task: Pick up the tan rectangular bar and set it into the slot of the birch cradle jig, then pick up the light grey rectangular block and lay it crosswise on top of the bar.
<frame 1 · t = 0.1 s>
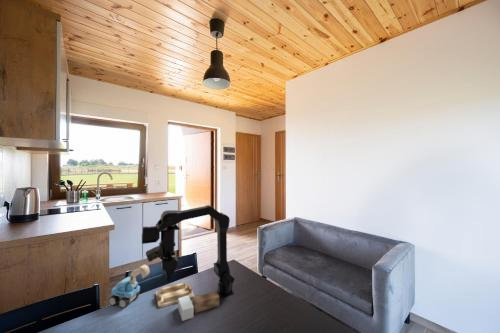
hand: (166, 275, 94), 15 cm above the table, fingers open, 9 cm apart
light grey rectangular block: (185, 312, 92), on the table
toy excavator: (129, 302, 98), on the table
tan rectangular bar: (205, 306, 96), on the table
jig: (174, 295, 103), on the table
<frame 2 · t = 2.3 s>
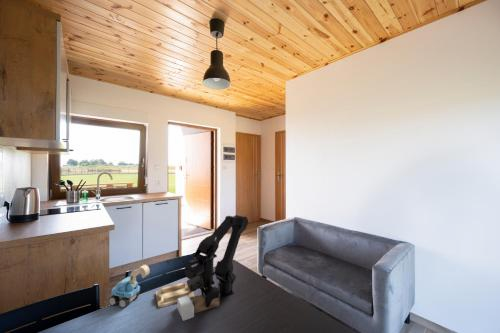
hand: (205, 303, 97), 1 cm above the table, fingers closed on tan rectangular bar, 4 cm apart
tan rectangular bar: (205, 306, 97), on the table, touching gripper
everything else where it was.
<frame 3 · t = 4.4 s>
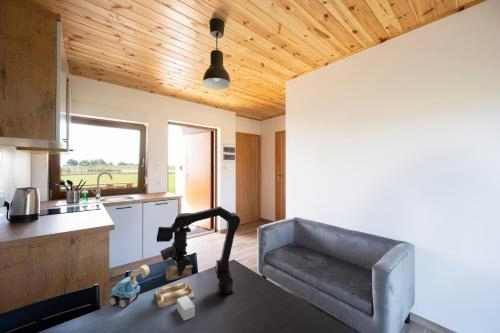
hand: (178, 273, 102), 11 cm above the table, fingers closed on tan rectangular bar, 4 cm apart
tan rectangular bar: (178, 275, 102), point 10 cm above the table, touching gripper
everything else where it was.
when the fingers open (3 cm above the table, at t = 6.4 s): tan rectangular bar drops 1 cm, resting on jig.
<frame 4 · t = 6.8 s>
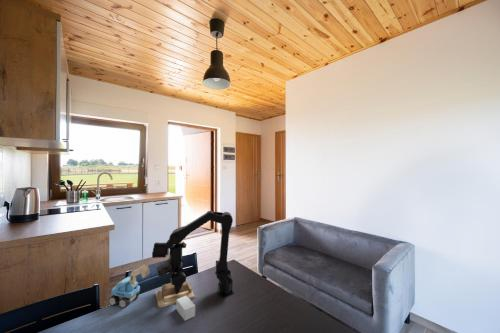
hand: (175, 288, 103), 3 cm above the table, fingers open, 9 cm apart
tan rectangular bar: (174, 293, 103), point 1 cm above the table, touching jig
everything else where it was.
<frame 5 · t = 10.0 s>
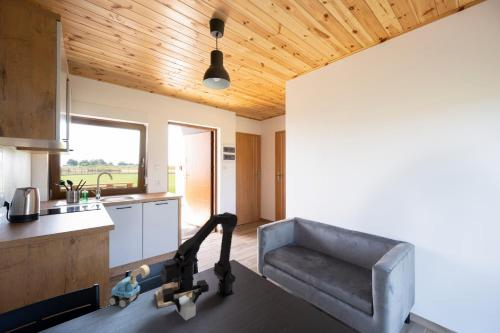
hand: (185, 309, 92), 1 cm above the table, fingers closed on light grey rectangular block, 5 cm apart
light grey rectangular block: (185, 312, 92), on the table, touching gripper
everything else where it was.
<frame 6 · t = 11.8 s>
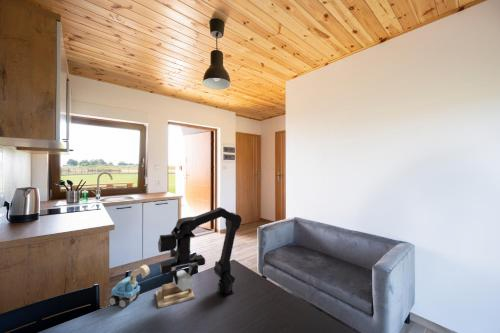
hand: (182, 282, 95), 11 cm above the table, fingers closed on light grey rectangular block, 5 cm apart
light grey rectangular block: (182, 284, 95), point 10 cm above the table, touching gripper
everything else where it was.
when the fingers open (7 cm above the table, at t = 13.4 s): light grey rectangular block stays where it is, resting on tan rectangular bar.
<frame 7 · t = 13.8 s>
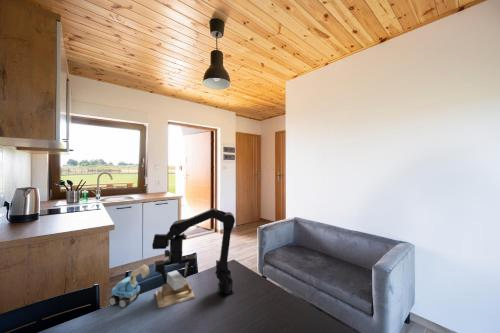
hand: (175, 280, 103), 7 cm above the table, fingers open, 9 cm apart
light grey rectangular block: (175, 284, 103), point 5 cm above the table, touching tan rectangular bar
tan rectangular bar: (174, 293, 103), point 1 cm above the table, touching jig, light grey rectangular block
everything else where it was.
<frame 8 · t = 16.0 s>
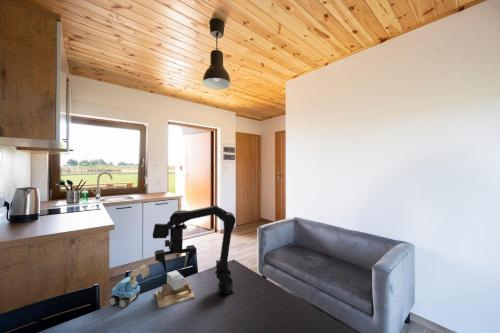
hand: (175, 270, 103), 12 cm above the table, fingers open, 9 cm apart
nothing on the table moved.
at the end: tan rectangular bar 0.0 cm off-centre on the jig, point 1.0 cm above the jig's base; light grey rectangular block 0.0 cm off-centre on the tan rectangular bar, point 4.5 cm above the tan rectangular bar's base; light grey rectangular block tilted 0° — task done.
